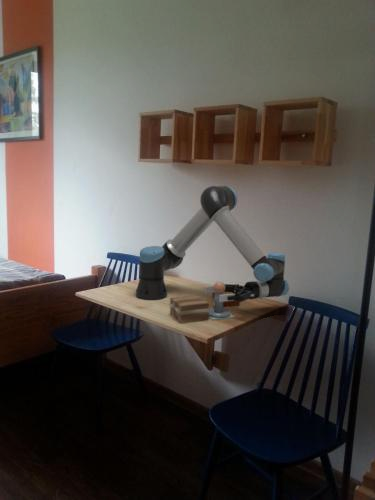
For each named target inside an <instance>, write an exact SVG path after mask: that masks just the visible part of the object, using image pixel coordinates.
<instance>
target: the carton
mask: <svg viewBox="0 0 375 500" xmlns="http://www.w3.org/2000/svg"><path fill="white" fill-rule="evenodd" d="M224 294H233V293H232V292H224ZM224 294H223V295H224ZM211 295H212V299H214V300H215V292H213V293H211ZM234 296H235V294H234ZM240 305H241V302H239V300H238V301H235V300H234V301H225V302H223V308H225V307H239V306H240Z"/></svg>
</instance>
